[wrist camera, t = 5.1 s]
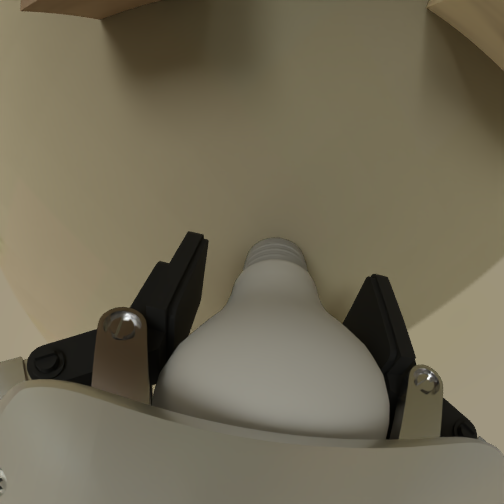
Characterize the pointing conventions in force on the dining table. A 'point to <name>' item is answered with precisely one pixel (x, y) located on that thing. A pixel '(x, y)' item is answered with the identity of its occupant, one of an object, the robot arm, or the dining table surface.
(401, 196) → the dining table surface
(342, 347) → the lightbulb
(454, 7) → the beech cube
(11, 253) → the dining table surface
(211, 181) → the dining table surface
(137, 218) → the dining table surface
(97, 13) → the walnut cube
